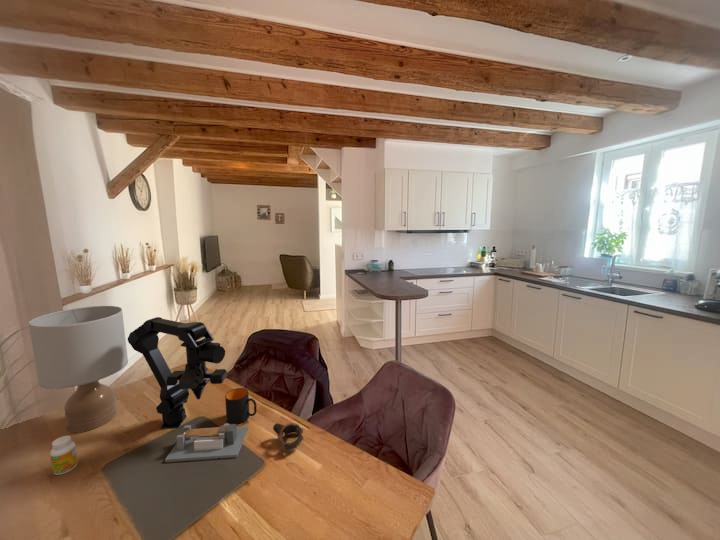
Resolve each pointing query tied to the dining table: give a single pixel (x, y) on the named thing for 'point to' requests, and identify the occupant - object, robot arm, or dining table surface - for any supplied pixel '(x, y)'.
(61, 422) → the dining table surface
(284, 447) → the vr controller
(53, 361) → the lamp
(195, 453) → the board
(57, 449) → the supplement bottle
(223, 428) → the strap
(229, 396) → the mug
